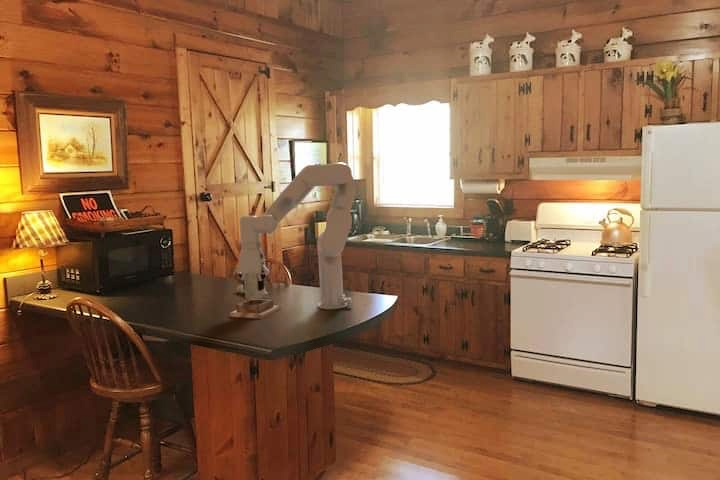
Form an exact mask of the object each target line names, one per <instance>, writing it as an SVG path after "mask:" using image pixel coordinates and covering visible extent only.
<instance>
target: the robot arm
mask: <svg viewBox="0 0 720 480" xmlns="http://www.w3.org/2000/svg"><path fill="white" fill-rule="evenodd" d="M325 186H326V187H327V186H334V193H333V196H332V199H331V203H330V205H329V209H328V211H327V214H326V218H325V219H326V226H325V229H324V231H323V232H321V234H320V235H318V238H317V240H316V249H317V257H318V259H317V260H318V269H319V270H318V274H319V275H318V276H319V289H320V290H319V294H320V302H318V303H317V305H316V306H317V308H319V309H320V310H321V309H322V310H338V309H343V308H346V307H347V306H348V304H352V303H353V299H352V297H346V294H345V293H344V286H343V266H342V265H343V263H342V262H343V261H342V252H343V251H344V248H345V245H346V242H347V239H348V236H349V234H350V230H351V227H352V224H353V223H352V222H353V218H352V215H351V210H352V206H353V204H354V200H355V197H356V190H357V189H356V183H355V179H354V177H353V175H352V169H351V167H350V166H349V165H348V164H347V163H345V162H335V163H334V162H333V163H324V164H308V165H306V166H304V167H303V168H302V169H301V171H299V172H298V173H297V174H296V176H295V177H294V178H293V179H292V180H291V182H290V183H289V184H288V185H287V186H286V187H285V188H284V189H283V190H282V192H281V193H280V194H279V195H278V197H277V198H276V199H275V200H274V201H273V203H271V204H270V206H269V207H268V208H267V209H266V210H265V211H264V212H263V213H262V215H260V216H259V215H258V216H257V215H244V216H243V215H242V216H241V217H240V219H239V228H240V242H241V249H240V252H239V266H237V268H236V269H235V273H236V274H237V275H238V276H239V278H240V280H241V281H242V284H243V287H244V290H245V284H244V273H247V272H251V271H254V270H255V271H256V274H257V277H258V279H259V281H258V290H259V291H261V290H263V289H264V287H265V279H266V278H267V277H268V275H269V274H270V273H271V270H270V269H269V268H268V267H267V265H266V264H267V263H266V259H265V253H264V250H263V248H262V247H263V246H264V244H263V243H261V236H260V235H261V234H273V233H275V232H276V231H277V230H278V228H279V224H280V223H281V221H282V220H283V219H284V218H285V217H286V216H287V215H288V214H289V213H290V212H291V211H293V210H294V209H295V208H297V207H298V206H299V205H301V203H302V202H303V201H304V200H305V199H306V198H307V196H308V195H309V194H310V193H311V192H312V191H313V189H314V188H315V187H325Z"/></svg>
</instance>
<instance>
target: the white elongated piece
mask: <svg viewBox="0 0 720 480" xmlns="http://www.w3.org/2000/svg"><path fill="white" fill-rule="evenodd" d="M235 291H236V292H237V293H240V294H241V295H242V294H245V290H244V287H243V283H242V284H238V285H237V286H236V287H235ZM268 294H269V292H268V291H266V287H265V286H264V289H263V297H262V298H259V299H267V300H268V298H269V297H268Z"/></svg>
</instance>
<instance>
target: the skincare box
mask: <svg viewBox="0 0 720 480" xmlns="http://www.w3.org/2000/svg"><path fill="white" fill-rule="evenodd" d="M258 281H259V279H258V277H257V274H256V271H255V270H254V271H251V272H247V273H244V284H245V293H244V294H245V295H244V296H245V299H246V300H249V299H259V298H262V297H263V290H261V291H259V290H258Z"/></svg>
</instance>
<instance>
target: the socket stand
mask: <svg viewBox="0 0 720 480" xmlns="http://www.w3.org/2000/svg"><path fill="white" fill-rule="evenodd" d="M235 306H236V310H233V311H231V312H229V317H231V318H247V319H264V318H266V317H268V316H270V315H272V314H274V313H277V312H278V311H281V305H274V299H268V298H267V299H246V300H244V301H241V302H239V303H237V304H236V305H235Z"/></svg>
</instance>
